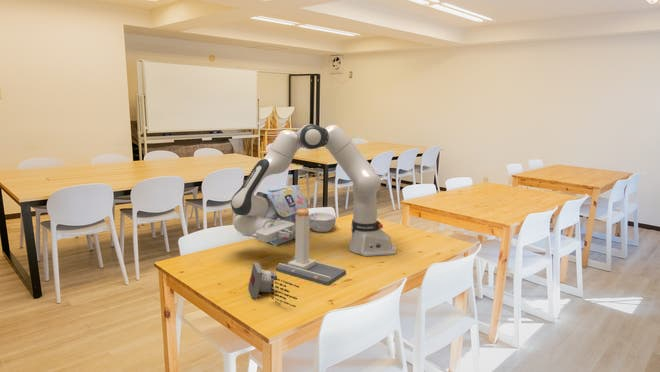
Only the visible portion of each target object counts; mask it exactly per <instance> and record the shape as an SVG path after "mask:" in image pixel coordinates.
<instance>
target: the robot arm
mask: <svg viewBox="0 0 660 372" xmlns="http://www.w3.org/2000/svg"><path fill="white" fill-rule="evenodd" d="M321 147H325V148H326V149H327V150H328V151H329V153H330V154H331V156H332V157H333V159H334V160H335V161H336V162H337V164H338V165H339V166H340V168H341V169H342V170H343V172H344V173H345V174H346V176H347V177H348V178H349V179H350V181H351V182H352V196H353V198H352V201H353V208H352V209H353V211H352V221H351V237H350V242H349V246H348V250H349V251H350V252H352V253H354V254H358V255H361V256H364V257H372V256H390V255H396V254H397V248H396V246H395V245H394V244H392V239H391V237H390V235H389V234H387V232H385V231H384V230H383V227H384V226H383V224H382V223H381V222H380V221H379V220H378V219H377V218H378V217H377V216H378V200H377V198H378V197H377V193H378V192H379V191H380V189H381V187H382V186H381V185H382V183H381V181H382V180H381V177H380V176H379V174H378V173H377V172H376V170H375V169H374V168H373V166H372V165H371V164H370V163H369V161H368V160H367V158H366V157H364V155H363V154H362V152H361V151H360V149H358V147H357V146H356V145H355V143H354V142H353V140H352V139H351V137H349V135H348V134H347V133H346V132H345V131H344V130H343V129H342V127H340V126H339V125H336V124H330V125H328V126H326V127H322V126H319V125H317V124H312V123H309V124H305V125H303V126H301V127H300V128H299V129H297V130H296V131H295V130H294V131H293V130H291V129H282V130H281V131H280V132H279V133H278V134H277V136H276V138H275V139H274V140H273V142H272V144H271V146H270V148H269V150H268V151H267V153H266V154H265V155H264V157H263V158H262V159H260V160H259V161H258V162H257V163H256V164H255V165H254V166H253V168H252V169H251V171H250V173H249V174H248V176H247V177H246V178H245V180H244V182H243V184H242V185H241V186H240V188H239V189H238V190H237V191H236V192H235V193H234V195H232V197H231V200H230V208H231V210H232V212H233V213H234V214H235V215H236V216H234V217H235V218H234V219H233V227H234V229H235V230H236V232H238V233H240V234H245V235H244V236H247V235H248V236H247V237H252V238H254V239H255V240H257V241H259V242H262V243H269V242H270V241H272V240H275V239H277V238H280V237H287V238H289V237H291V236H293V232H294V231H295V224H294V223H293V222H289V221H285V220H280V218H272V219H267V218H266V215H267V212H268V207H269V206H268V202H267V200H266V199H265V198H264V197H261V195H258V194H257V195H256V194H255V193H256V191H257V189H258V188H259V186H260V185H261V183H262V181H263V180H264V179H265V178H266V177H268V176H272V175H276V174H277V175H279V174H282V173H284V172H285V171H287V170H288V169H289V167H290V166H291V163H292V161H293V159H294V157H295V155H296V153H297V152H298V150H300V149H301V148H303V149H306V150H317V149H319V148H321ZM265 218H266V219H265Z"/></svg>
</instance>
